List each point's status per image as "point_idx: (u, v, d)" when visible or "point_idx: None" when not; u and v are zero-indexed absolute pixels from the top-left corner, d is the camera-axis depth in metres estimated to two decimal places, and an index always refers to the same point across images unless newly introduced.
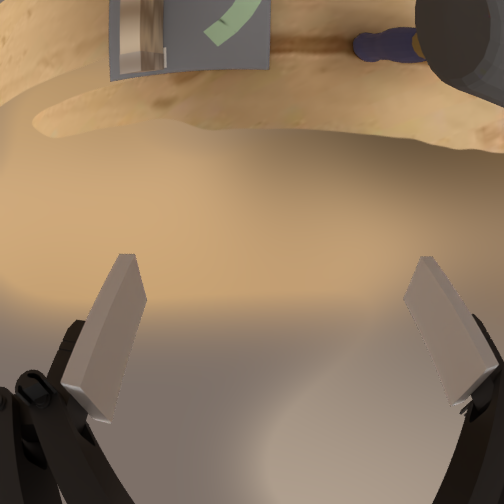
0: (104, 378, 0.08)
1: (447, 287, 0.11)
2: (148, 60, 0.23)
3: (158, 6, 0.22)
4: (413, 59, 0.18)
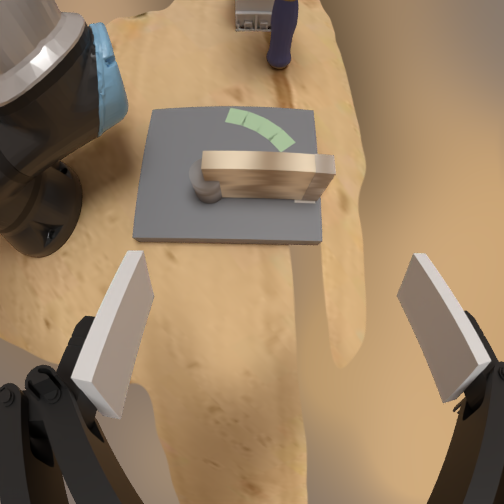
0: (114, 373, 0.09)
1: (439, 283, 0.11)
2: None
3: None
4: (297, 5, 0.29)
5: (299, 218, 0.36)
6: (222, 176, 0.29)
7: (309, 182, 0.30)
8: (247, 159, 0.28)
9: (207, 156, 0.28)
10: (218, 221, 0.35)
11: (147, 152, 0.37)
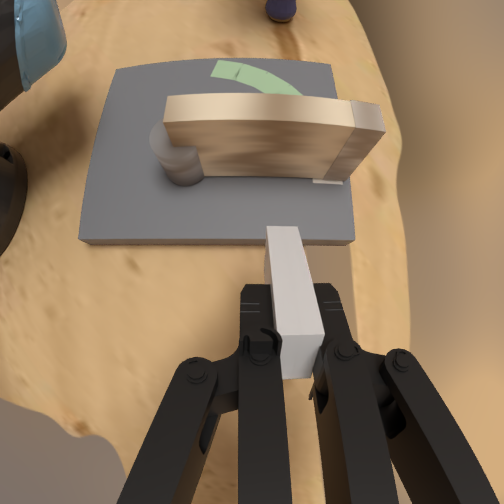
0: None
1: (295, 253, 0.12)
2: None
3: None
4: None
5: (320, 206, 0.23)
6: (200, 136, 0.17)
7: (341, 147, 0.18)
8: (241, 105, 0.15)
9: (174, 103, 0.15)
10: (199, 212, 0.23)
11: (104, 121, 0.24)
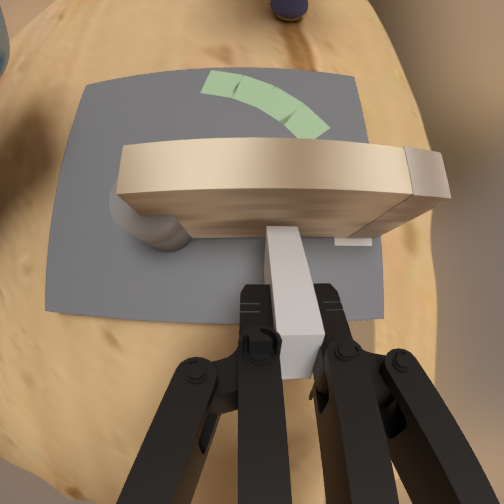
0: None
1: (295, 253, 0.12)
2: None
3: None
4: None
5: (343, 277, 0.18)
6: (177, 206, 0.12)
7: (383, 212, 0.13)
8: (237, 160, 0.10)
9: (133, 159, 0.10)
10: (186, 288, 0.18)
11: (68, 155, 0.19)
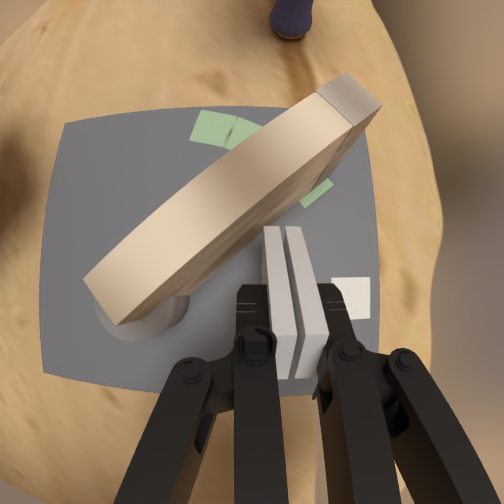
0: None
1: (299, 253, 0.12)
2: None
3: None
4: None
5: None
6: (169, 289, 0.11)
7: (333, 155, 0.13)
8: (194, 213, 0.09)
9: (103, 284, 0.09)
10: None
11: (50, 210, 0.18)
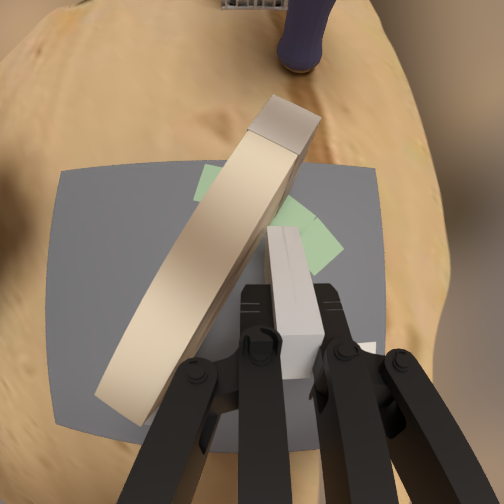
0: None
1: (295, 253, 0.12)
2: None
3: None
4: None
5: None
6: None
7: (286, 184, 0.13)
8: (171, 306, 0.09)
9: (114, 394, 0.09)
10: None
11: (52, 268, 0.17)
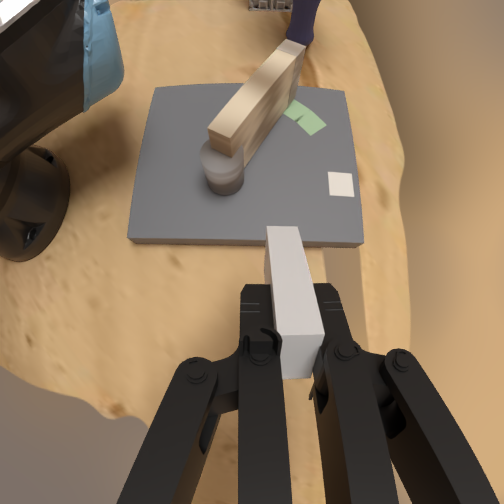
0: None
1: (295, 253, 0.12)
2: None
3: None
4: None
5: (335, 214, 0.28)
6: (244, 133, 0.22)
7: (292, 75, 0.25)
8: (248, 94, 0.21)
9: (218, 126, 0.21)
10: (236, 218, 0.28)
11: (147, 135, 0.30)
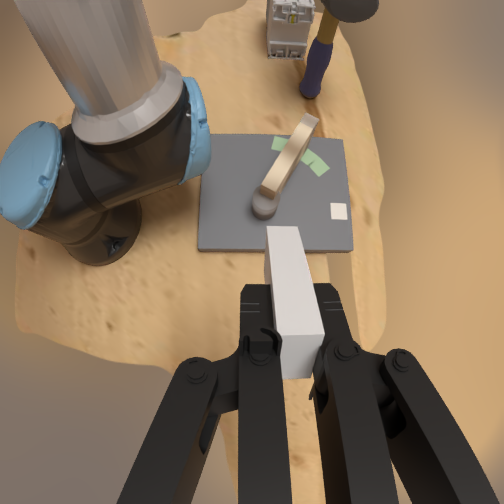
0: None
1: (295, 253, 0.12)
2: None
3: None
4: (332, 47, 0.38)
5: (335, 232, 0.44)
6: (281, 185, 0.38)
7: (309, 138, 0.40)
8: (284, 160, 0.36)
9: (268, 183, 0.36)
10: None
11: (205, 173, 0.45)
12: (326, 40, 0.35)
